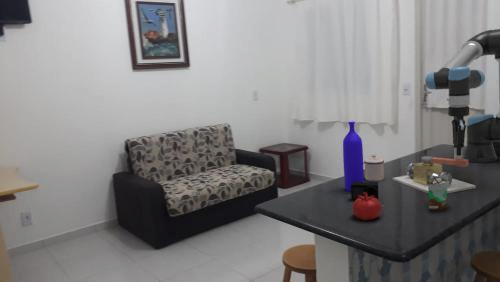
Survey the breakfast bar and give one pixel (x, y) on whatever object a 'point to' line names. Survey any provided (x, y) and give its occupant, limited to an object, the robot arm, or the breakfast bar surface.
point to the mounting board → (409, 181)
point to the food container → (438, 193)
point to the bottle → (352, 158)
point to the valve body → (426, 172)
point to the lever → (445, 161)
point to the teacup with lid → (374, 168)
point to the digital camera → (364, 189)
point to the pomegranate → (366, 207)
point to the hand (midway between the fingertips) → (458, 162)
